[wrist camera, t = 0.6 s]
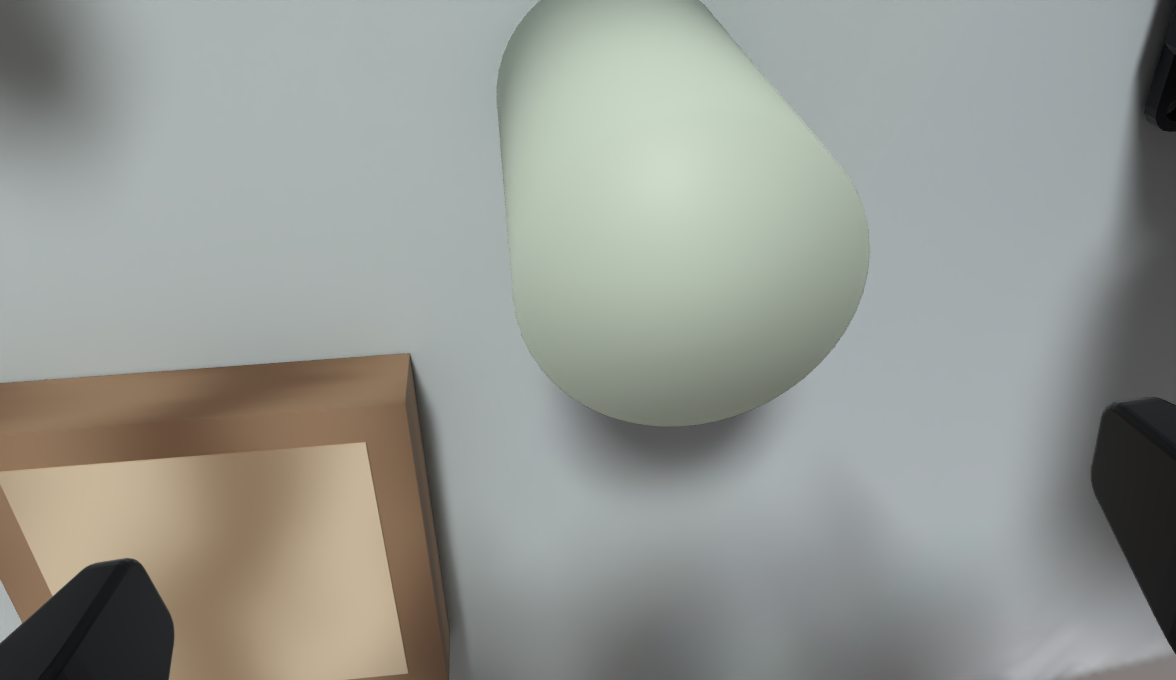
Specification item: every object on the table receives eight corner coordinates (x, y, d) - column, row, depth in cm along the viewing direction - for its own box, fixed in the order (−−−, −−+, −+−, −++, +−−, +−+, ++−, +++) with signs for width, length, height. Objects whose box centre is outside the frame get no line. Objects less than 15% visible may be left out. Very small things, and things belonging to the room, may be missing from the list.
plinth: (409, 353, 23) (404, 404, 21) (450, 634, 28) (448, 693, 26) (-30, 385, 22) (-71, 441, 20) (99, 668, 27) (75, 731, 26)
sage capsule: (743, -36, 19) (896, 98, 12) (726, 198, 21) (845, 412, 15) (487, -25, 18) (500, 120, 12) (504, 212, 21) (523, 438, 14)
